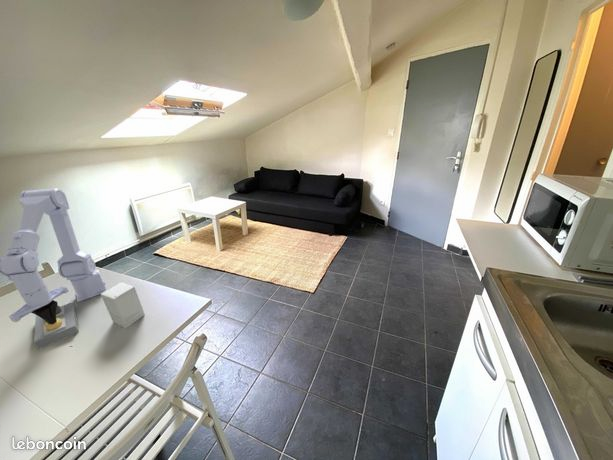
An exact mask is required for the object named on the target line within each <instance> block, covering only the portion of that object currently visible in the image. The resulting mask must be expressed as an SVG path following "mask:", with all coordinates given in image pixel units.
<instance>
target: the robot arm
mask: <svg viewBox="0 0 613 460" xmlns="http://www.w3.org/2000/svg"><path fill="white" fill-rule="evenodd" d="M18 201H19V204H20V206H21V207H22V208H23V209H22V216H21V222H20V227H19V230H18V231H15V232H13V234H12V237H11V239H10V242H9V246H8V250H7V252H6V255H4V256H3V257H1V258H0V275H2V276H5V277H6V278H7V280H8V281H10V282H12V283H13V284H14V286H15V289H16V290H17V292H19V294H20V296H21V297H22V299H23V301H24V303H25V304H24V305H23V306H21V307H20V308H18V309H17V310H16V311H14V312H12V314H10V315H8V318H9V319H10V320H11V322H14V323H18V322H20V321H21V319H22V318H24V317H26V316H27V315H28V316H29V314H33V315H35V316H36V315H37V316H39V317H41V318H42V319H43V320H45V321H46V322H47V323H48V324H54V323H56V322H57V320H56V308H57V306H59V303H58V301H56V300H55V299H57V298H58V297H60V296H62V295H63V294H67V293H68V292H70V291H69V289H68V287H67V286H63V285H62V286H60V287H58V288H55V289H54V290H51V291H50V290H49V289H48V287H47V284H46V283H45V281H44V279H43V277H42V275H41V274H40V272H39V271H38V267H39V265H40V261H39V258H38V256H39V254H38V253H37V250H38V245H39V242H40V237H41V236H40V235H39V234H38V233H37V232H38V229H39V226H40V224H41V221H42V219H43V216H44V215H45V214H46V215H47V216H49V219H50V222H51V225H52V228H53V231H54V235H55V236H56V240H57V243H58V245H59V248H60V251H61V254H62V256H61V257H60V258H59V259H58V260H57V262H56V263H57V271H58V275H59V276H61V277H62V278H64V279H66V280H67V281H70V284H71V286H72V288H73V289H74V292H75V296H76V302H77V303H80V302H83V301H85V300H88V299H91V298H93V297H97V296H99V295H101V293H103V292H105V291H107V290H108V289H107V288H106V283H105V280H103V278H102V276H101V273H100V270H99V269H96V267H97V266H96V263H95V260H94V259H93V257H92V256H91V254H90V253H88V252H85V251H82V250H81V249H80V247H79V243H78V239H77V236H76V234H75V231H74V228H73V224H72V222H71V219H70V215H69V212H68V210H69V209H70V206H69V202H68V198H67V195H66V194H65V192H64V191H63V190H61V189H59V188H57V187H54V188H48V189H47V188H46V189H36V190H35V189H34V190H23V191H22V192H21V193H20V195H19V200H18Z"/></svg>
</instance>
